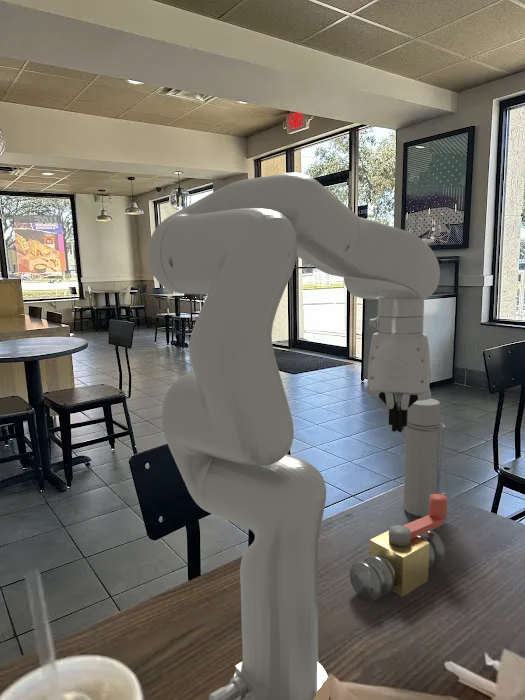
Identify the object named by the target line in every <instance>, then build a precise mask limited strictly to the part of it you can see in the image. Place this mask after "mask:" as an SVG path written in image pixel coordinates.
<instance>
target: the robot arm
mask: <svg viewBox="0 0 525 700" xmlns="http://www.w3.org/2000/svg"><path fill="white" fill-rule="evenodd" d="M297 257H298V258H299V259H301V260H303V261H304V262H306V263H307V264H310V265H311V266H313V267H314V268H315V269H318V270H319V271H321V273H322V272H323V273H325V274H327V275H330V276H335V277H341V278H343V282H344V283H343V284H344V285H345V288H346V289H347V291H348V292H349V293H350V294H351V295H353V296H354V297H357V298H359V299H363V300H364V299H366V300H377V301H378V302H377V316H376V317H374V318H370V319H369V323H368V325H369V327H373V328H375V329H376V332H374V333H372V337H371V342H370V346H369V355H368V366H367V387H368V388H367V395H369V396H372V397H375V398H379V399H380V400H381V401H382V402H383V403H384V404H385V405H386V407H387V409H388V425H389V426H391V432H398V433H402V432H403V429H404V428H405V427H406V426H407V417H408V408H409V407H410V406H411V405H412V404H413V403H415V402H416V401H421V400H428V399H430V398H431V397H432V393H431V389H430V388H431V387H430V383H431V357H430V355H431V354H430V346H429V338H428V334H427V333H424V320H425V319H424V317H425V316H424V314H425V300H426V299H427V298H429V297H431V296H432V295H433V294H434V293H435V292H436V290H437V288H438V287H439V283H440V278H441V277H440V276H441V268H440V264H439V260H438V257H437V255H436V254H435V252H434V251H433V249H432V248H431V247H430V246H429V245H428V244H427V243H426V242H425V241H424V240H423V239H422V238H420V237H419V236H418V235H416V234H414V233H412V232H410V231H407V230H404V229H401V228H399V227H395V226H391V225H388V224H385V223H381V222H379V221H376V220H372V219H370V218H364V217H360V216H358V215H357V214H356V213H355V212H354V211H353V210H352V209H350V208H349V207H347V205H346V204H345V203H343V202H342V201H340V199H339V198H337V197H336V196H335V194H333V193H332V192H331V191H330V190H328V189H327V188H326V187H325V186H324V185H322V184H321V183H320V182H319V181H318V180H317V179H315V178H313V177H312V176H310V175H307V174H304V173H300V172H284V173H278V174H273V175H272V174H271V175H267V176H266V175H265V176H260V177H254V178H247V179H241V180H236V181H234V182H231V183H228V184H227V185H225V186H222V187H220V188H219V189H217V190H215V191H213V192H211V193H209V194H208V195H206V196H204V197H202V198H201V199H199V200H197V201H195V202H193V203H191V204H190V205H188V206H185V207H184V208H182V209H180V210H178V211H176V212H175V213H173V214H172V215H170V216H168V217H166V218H165V219H163V220H162V221H161V222H160V223H159V224H158V225H157V226H156V227H155V230H153V232H152V234H151V237H150V239H149V242H148V246H147V261H148V266H149V269H150V272H151V273H152V275H153V277H154V278H155V280H156V281H157V282H158V283H159V284H160V285H161V286H162V287H164V288H165V289H167V290H170V291H172V292H174V293H176V294H177V293H178V294H182V295H206V298H205V300H204V302H203V303H202V307H201V309H200V311H199V313H198V314H197V315H198V316H197V317H196V320H195V322H194V325H193V327H192V331H191V334H190V337H189V338H190V339H189V345H188V346H189V347H188V351H189V360H190V364H191V366H192V370H193V372H189V373H185V374H183V375H182V376H180V377H179V378H177V379H175V381H174V382H172V384H171V386H170V387H169V389H168V390H167V391H166V394H165V396H164V400H163V403H162V409H161V426H162V431H163V434H164V435H163V436H164V438H165V440H166V443H167V446H168V448H169V451H170V453H171V455H172V457H173V460H174V461H175V464H176V467H177V469H178V470H179V473H180V475H181V477H182V480H183V482H184V483H185V486H186V488H187V490H188V493H189V495H190V496H191V498H192V500H193V501H194V503H195V504H196V505H198V507H200V508H201V509H202V510H203V511H205V512H207V513H210V514H211V515H213V516H216V517H219V518H220V519H224V520H227V521H228V522H232V523H234V524H237V525H240V526H241V527H244V528H246V529H249V530H250V531H251V532H252V533H253V535H254V540H253V542H252V543H251V544H250V545H249V546H248V548H246V550H244V553H243V555H242V557H241V561H240V566H239V567H240V568H239V578H240V579H239V583H240V606H241V607H240V608H241V609H240V610H241V611H240V612H241V637H242V638H241V642H242V643H241V645H242V647H241V648H242V650H241V651H242V661H241V662H239V663H237V664H235V672H234V674H233V677H231V679H230V680H229V683H228V684H227V685H225V686H222V687H220V688H217V690H215V691H213V692H211V693H209V696H208V700H313V699H314V698H315V696H316V693H317V691H318V690H319V689H320V688H321V687H322V685H323V683H324V682H325V681H326V680H327V678H329V676H328V673H327V672H326V670H325V668H324V667H323V665H321V663H319V639H318V638H319V635H318V634H319V633H318V632H319V631H318V630H319V624H318V623H319V619H318V618H319V607H318V606H319V605H318V603H319V602H318V601H319V597H318V595H319V594H318V590H319V589H318V588H319V587H318V586H319V585H318V584H319V581H318V580H319V578H318V577H319V576H318V573H319V572H318V571H319V570H318V567H319V566H318V565H319V564H318V563H319V562H318V561H319V545H320V543H319V542H320V534H321V533H320V532H321V528H322V522H323V517H324V512H325V507H326V501H327V486H326V481H325V479H324V477H323V475H322V473H321V472H320V471H319V470H318V468H316V467H315V466H314V465H313V464H312V463H309V462H308V461H306V460H305V459H302V458H300V457H297V456H294V455H291V454H289V452H290V450H291V448H292V446H293V441H294V433H295V431H294V421H293V415H292V414H291V413H292V412H291V409H290V405H289V401H288V398H287V395H286V391H285V388H284V387H285V386H284V385H283V384H284V383H283V380H282V377H281V375H280V374H281V373H280V369H279V366H278V363H277V360H276V355H275V351H274V346H273V336H272V335H273V334H272V333H273V327H274V321H275V317H276V315H277V311H278V309H279V305H280V302H281V300H282V297H283V295H284V292H285V291H286V290H285V289H286V288H287V285H288V283H289V281H290V279H291V276H292V275H293V271H294V269H295V265H296V261H297ZM396 394H399V395H402V398H401V401H400V402H401V403H400V405H398V402H397V398H396V397H397V396H396Z"/></svg>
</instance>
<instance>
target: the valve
mask: <svg viewBox="0 0 525 700" xmlns="http://www.w3.org/2000/svg"><path fill="white" fill-rule="evenodd" d="M445 549H446V547H445V545H444V542H443V540H442V538H441V537H440V536H439V535H438V534H437V533H436V532H435V531H434V530H433V529H432V530H430V531H428V532H426V533H423V534H421V535H419V536H417V537H414V538H412V539H410V544H408V545H406V546H398V545H394V544H392V543H391V542H390V541H389V530H387V531H385V532H383V533H380V534H379V535H376V536H375V537H372V538H371V539H369V556H368V557H366V558H364V559H363V560H360V561H358V562H356V563H354V564H352V566H351V567H350V570H349V579H350V584H351V587H352V588H353V589H354V592H355V593H356V595H357V596H358V597H359V598H360V599H362V600H363V601H364V602H367V603H372V602H375V601H377V599H379V598H380V597H382V595H383V596H384V595H386V594H388V593H389V592H391V591H392V592H394V593H395V594H397V595H398V596H400V597H401V598H403V597H404V596H406V595H407V594H409V593H411V592H412V591H414V590H416V589H417V588H418V587H421V586H422V585H424V584H425V583H427V582H428V581H429V570H430V569H429V568H431V567H432V566H434V565H436V564H438V563H440V562H441V561H442V560H443V559H444V558H445V556H446V555H445V554H446V550H445Z"/></svg>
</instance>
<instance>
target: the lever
mask: <svg viewBox="0 0 525 700" xmlns="http://www.w3.org/2000/svg"><path fill="white" fill-rule="evenodd" d="M447 513H448V497H447V496H446V495H441V493H438V494H432V495H430V504H429V515H427V516H425V517H419V518H417V519H415V520H413V521H410V522H409V523H405V524H403V525H401V524H400V525H399V524H395V525H391V526H389V528H388V531H389V541H390V542H391V543H392V544H394V545H398V546H406V545H408V544H410V539H412V538H414V537H417V536H419V535H421V534H423V533H426V532H428V531H430V530H432V531H433V530H434V529H437V528H439V527H441V526H444V520H445V519H447V516H448V515H447Z"/></svg>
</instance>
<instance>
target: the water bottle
mask: <svg viewBox="0 0 525 700" xmlns="http://www.w3.org/2000/svg"><path fill="white" fill-rule="evenodd" d="M441 414H442V413H441V403H440V401H439V400H437V399H434V398H431V397H430V399H428V400H421V401H416V402H415V403H413V404H412V405H411V406H410V407H409V408H408V417H407V426H405V441H404V443H405V446H404V448H405V449H404V479H403V480H404V482H403V484H404V485H403V486H404V487H403V495H404V496H403V508H404V509H403V510H405V511H406V512H407V513H408V514H410V515H411V516H414V517H419V518H422V517H425V516H427V515H429V504H430V495H432V494H441V495H444V496H446V494H447V493H448V492H447V491H448V485H449V479H448V477H449V476H448V468H447V467H448V466H447V465H448V464H447V456H446V455H447V454H446V442H445V431H446V425H445V424H444V423H443V422H442V417H441ZM440 426H441V427H440ZM441 434H442V435H441ZM440 438H441V439H440ZM440 441H441V443H440ZM440 444H441V448H440ZM443 451H444V453H443ZM443 455H444V465H445V477H446V487H445V488H446V489H445V492H443V491H442V490H441V475H442V474H441V473H442V472H441V471H442V460H443V459H442V456H443ZM438 492H439V493H438Z"/></svg>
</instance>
